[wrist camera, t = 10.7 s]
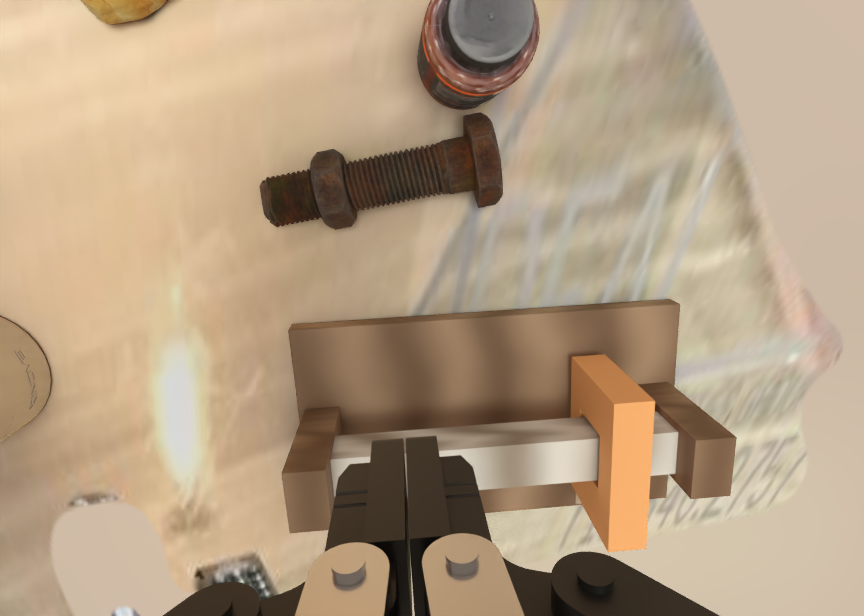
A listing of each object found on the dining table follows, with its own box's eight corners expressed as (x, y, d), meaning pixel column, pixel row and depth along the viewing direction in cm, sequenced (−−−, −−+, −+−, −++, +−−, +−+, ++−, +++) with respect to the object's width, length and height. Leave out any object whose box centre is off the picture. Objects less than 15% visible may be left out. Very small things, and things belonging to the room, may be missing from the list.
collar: (569, 480, 41) (608, 552, 34) (571, 356, 39) (614, 403, 31) (600, 478, 41) (645, 548, 34) (604, 354, 39) (655, 400, 31)
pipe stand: (316, 515, 44) (293, 616, 34) (292, 324, 39) (258, 377, 30) (657, 486, 45) (728, 575, 35) (669, 299, 41) (755, 341, 31)
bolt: (277, 188, 39) (485, 147, 38) (285, 254, 37) (500, 212, 37) (245, 145, 33) (487, 96, 33) (253, 221, 32) (505, 171, 31)
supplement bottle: (511, 104, 36) (561, 79, 25) (423, 116, 36) (435, 96, 25) (502, 5, 35) (551, -66, 24) (410, 18, 35) (417, -49, 24)
